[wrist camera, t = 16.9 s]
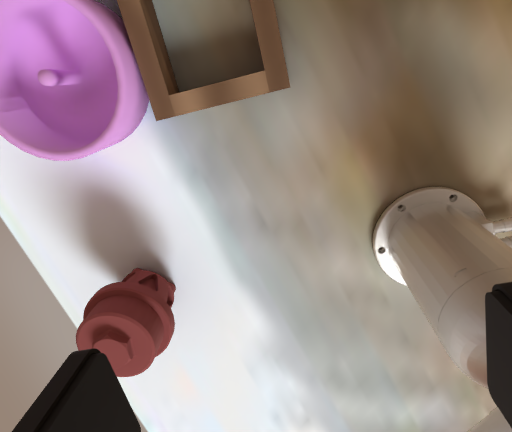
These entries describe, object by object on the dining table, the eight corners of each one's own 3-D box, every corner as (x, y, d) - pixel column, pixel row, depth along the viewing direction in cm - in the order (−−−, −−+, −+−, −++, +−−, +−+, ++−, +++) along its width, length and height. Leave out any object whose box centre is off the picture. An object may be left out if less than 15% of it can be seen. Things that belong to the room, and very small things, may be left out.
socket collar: (259, -67, 33) (256, -85, 30) (289, 85, 38) (290, 87, 34) (123, -24, 35) (105, -35, 32) (168, 116, 40) (156, 120, 36)
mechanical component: (147, 329, 51) (98, 277, 48) (203, 297, 48) (155, 239, 45) (108, 404, 39) (41, 340, 37) (179, 367, 37) (113, 295, 34)
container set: (175, 115, 40) (129, 134, 28) (63, 168, 43) (-24, 205, 31) (44, -154, 32) (-103, -293, 20) (-83, -66, 35) (-277, -141, 23)
